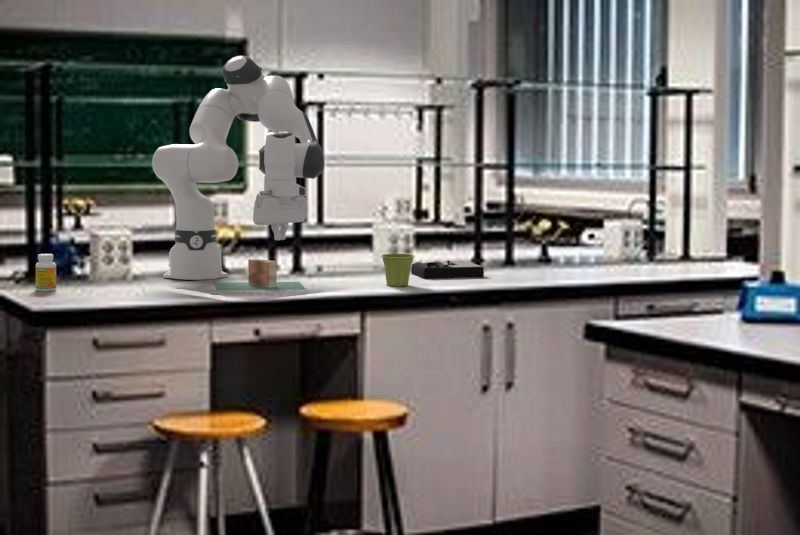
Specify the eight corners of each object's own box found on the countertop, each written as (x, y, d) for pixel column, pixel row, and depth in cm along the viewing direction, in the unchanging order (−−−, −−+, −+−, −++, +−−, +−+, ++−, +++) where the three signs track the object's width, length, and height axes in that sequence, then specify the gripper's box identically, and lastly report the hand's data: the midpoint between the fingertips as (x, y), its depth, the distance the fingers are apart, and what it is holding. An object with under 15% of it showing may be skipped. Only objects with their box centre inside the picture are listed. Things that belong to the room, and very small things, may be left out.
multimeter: (410, 275, 398) (410, 259, 398) (469, 273, 404) (470, 257, 403) (423, 280, 386) (423, 263, 385) (484, 278, 391) (484, 262, 391)
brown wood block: (247, 284, 359) (247, 259, 359) (255, 283, 361) (255, 258, 361) (269, 287, 353) (269, 262, 352) (276, 286, 355) (276, 261, 354)
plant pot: (411, 288, 365) (411, 257, 364) (378, 287, 367) (378, 256, 366) (416, 284, 374) (416, 254, 373) (384, 282, 376) (384, 253, 375)
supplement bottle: (35, 291, 348) (34, 255, 347) (36, 289, 354) (35, 253, 352) (56, 291, 350) (55, 255, 348) (56, 288, 355) (56, 253, 354)
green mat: (213, 286, 362) (213, 282, 362) (298, 285, 367) (298, 281, 367) (216, 294, 347) (216, 290, 347) (305, 293, 351) (305, 289, 351)
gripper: (266, 191, 348) (266, 242, 350) (310, 189, 366) (310, 238, 367) (247, 190, 352) (247, 241, 353) (292, 188, 369) (292, 237, 370)
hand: (279, 239), depth 360 cm, fingers closed
